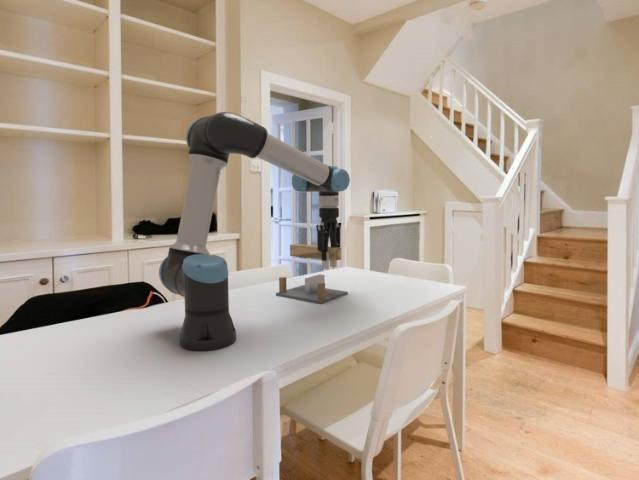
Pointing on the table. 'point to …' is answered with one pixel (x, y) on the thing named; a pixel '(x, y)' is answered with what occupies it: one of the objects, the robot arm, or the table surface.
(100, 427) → the table surface
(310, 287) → the ridge
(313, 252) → the oak batten
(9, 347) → the table surface
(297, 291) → the board
